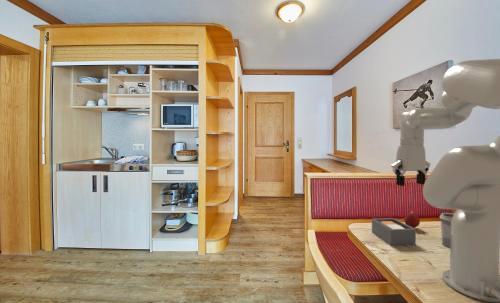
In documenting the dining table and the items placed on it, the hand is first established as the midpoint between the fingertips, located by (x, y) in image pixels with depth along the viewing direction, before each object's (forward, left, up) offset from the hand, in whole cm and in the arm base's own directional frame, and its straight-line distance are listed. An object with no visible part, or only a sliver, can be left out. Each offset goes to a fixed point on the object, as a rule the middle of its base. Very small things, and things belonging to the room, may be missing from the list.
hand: (410, 184), depth 89 cm
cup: (-5, -12, -23) cm, 27 cm away
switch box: (+3, +5, -23) cm, 24 cm away
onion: (+12, -10, -23) cm, 28 cm away
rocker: (+3, +5, -18) cm, 19 cm away
